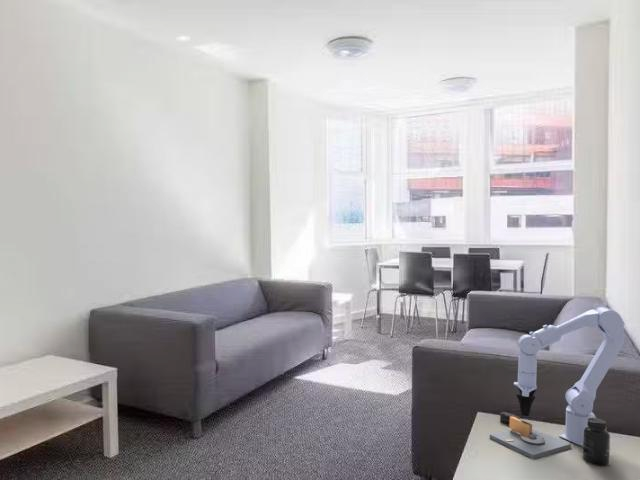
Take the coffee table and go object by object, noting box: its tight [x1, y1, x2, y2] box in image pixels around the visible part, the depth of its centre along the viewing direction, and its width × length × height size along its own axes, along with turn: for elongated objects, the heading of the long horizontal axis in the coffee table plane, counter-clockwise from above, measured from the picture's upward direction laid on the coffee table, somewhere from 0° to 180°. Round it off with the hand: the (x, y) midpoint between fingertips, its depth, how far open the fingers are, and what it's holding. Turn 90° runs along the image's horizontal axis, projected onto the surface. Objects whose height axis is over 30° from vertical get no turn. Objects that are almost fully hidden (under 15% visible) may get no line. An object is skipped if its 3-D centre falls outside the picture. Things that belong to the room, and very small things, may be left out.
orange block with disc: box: [508, 416, 545, 444], centre depth 152 cm, size 12×7×4 cm, turn 29°
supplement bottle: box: [582, 417, 611, 467], centre depth 140 cm, size 7×7×12 cm
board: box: [489, 427, 572, 460], centre depth 151 cm, size 18×16×2 cm
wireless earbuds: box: [499, 411, 521, 426], centre depth 167 cm, size 5×7×3 cm, turn 38°
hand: (525, 412), depth 159 cm, fingers open, 7 cm apart
